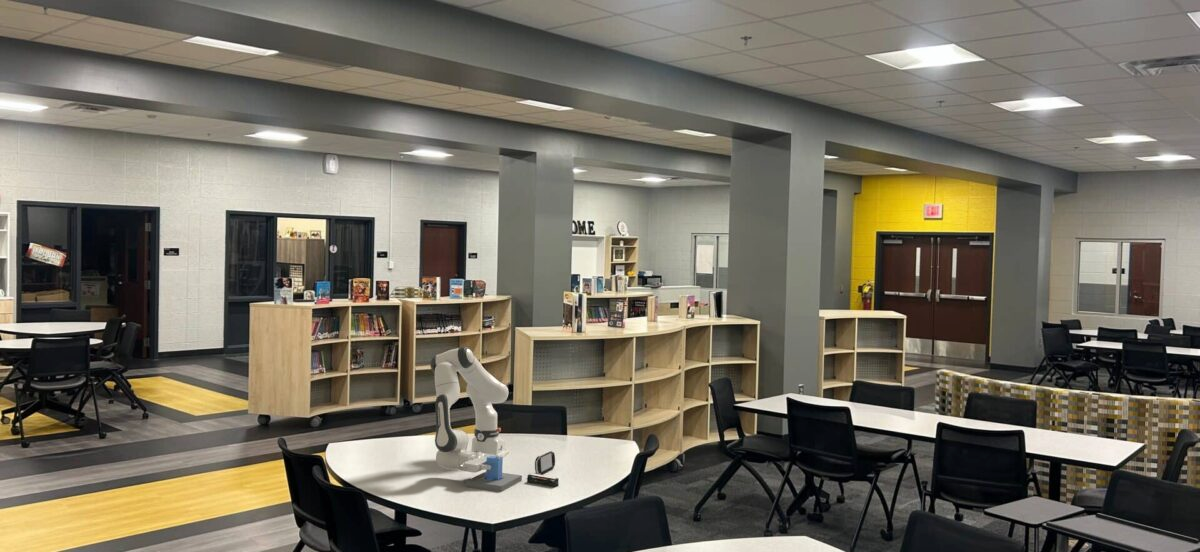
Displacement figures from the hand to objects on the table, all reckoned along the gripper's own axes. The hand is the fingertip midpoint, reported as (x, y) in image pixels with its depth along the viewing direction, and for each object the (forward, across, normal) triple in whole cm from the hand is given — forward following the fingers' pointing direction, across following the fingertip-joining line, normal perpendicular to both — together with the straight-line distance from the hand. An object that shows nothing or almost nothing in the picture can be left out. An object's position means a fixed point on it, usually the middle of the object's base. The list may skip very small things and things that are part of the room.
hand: (496, 465), depth 373 cm
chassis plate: (-1, 0, +8) cm, 9 cm away
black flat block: (+21, +8, +9) cm, 24 cm away
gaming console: (+11, +29, +9) cm, 32 cm away
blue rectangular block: (-1, 0, +8) cm, 9 cm away
